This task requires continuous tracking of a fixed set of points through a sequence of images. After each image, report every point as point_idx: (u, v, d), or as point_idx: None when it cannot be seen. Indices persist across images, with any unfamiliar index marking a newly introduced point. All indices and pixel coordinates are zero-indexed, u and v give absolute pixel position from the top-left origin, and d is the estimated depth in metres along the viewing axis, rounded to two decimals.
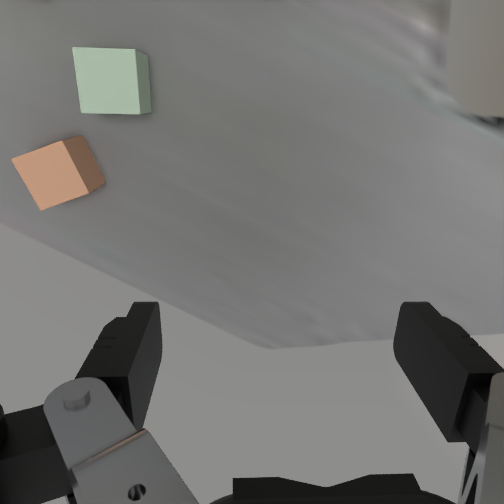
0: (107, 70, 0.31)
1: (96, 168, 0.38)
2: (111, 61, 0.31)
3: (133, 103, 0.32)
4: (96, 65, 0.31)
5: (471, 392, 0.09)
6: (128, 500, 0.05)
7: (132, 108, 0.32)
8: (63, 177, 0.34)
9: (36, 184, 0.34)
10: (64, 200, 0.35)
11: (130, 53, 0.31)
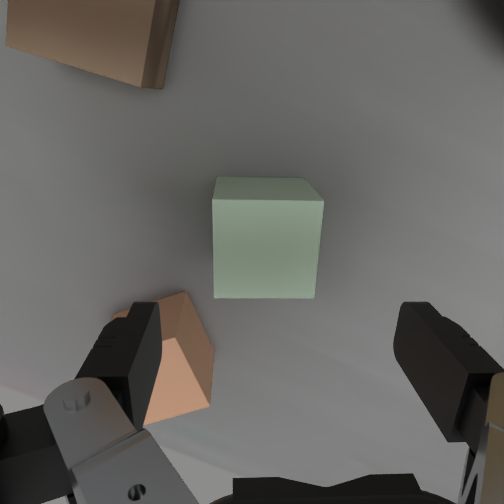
0: (269, 234, 0.17)
1: (205, 338, 0.24)
2: (278, 221, 0.17)
3: (305, 282, 0.18)
4: (250, 227, 0.17)
5: (471, 391, 0.09)
6: (129, 500, 0.05)
7: (302, 289, 0.19)
8: (171, 386, 0.21)
9: None
10: (168, 416, 0.21)
11: (315, 207, 0.17)
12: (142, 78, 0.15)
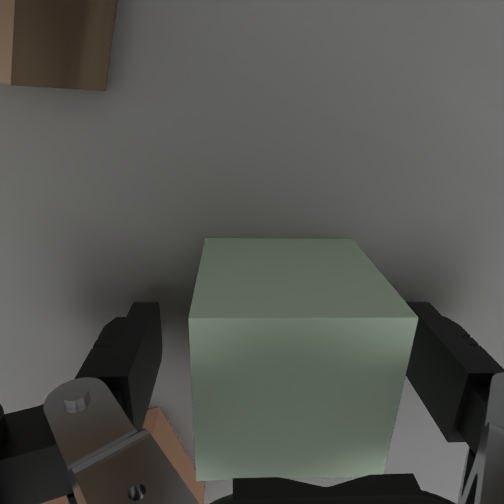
0: (304, 377, 0.09)
1: (189, 476, 0.16)
2: (324, 355, 0.08)
3: (369, 454, 0.10)
4: (267, 367, 0.09)
5: (471, 392, 0.09)
6: (129, 500, 0.05)
7: (362, 464, 0.10)
8: None
9: None
10: None
11: (398, 330, 0.08)
12: (12, 65, 0.06)
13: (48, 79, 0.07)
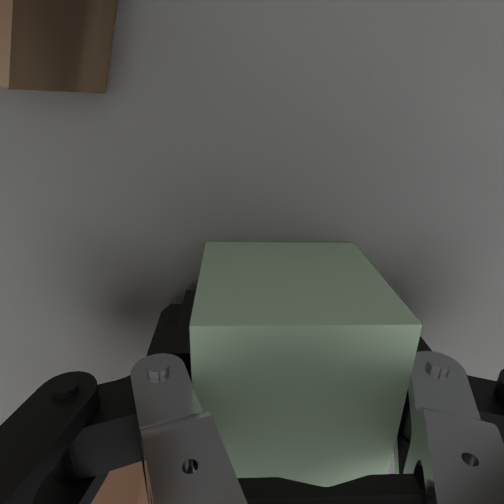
0: (307, 385, 0.09)
1: None
2: (326, 363, 0.08)
3: (372, 462, 0.10)
4: (268, 374, 0.08)
5: None
6: (182, 472, 0.06)
7: (365, 472, 0.10)
8: None
9: None
10: None
11: (402, 337, 0.08)
12: (10, 68, 0.06)
13: (47, 82, 0.07)
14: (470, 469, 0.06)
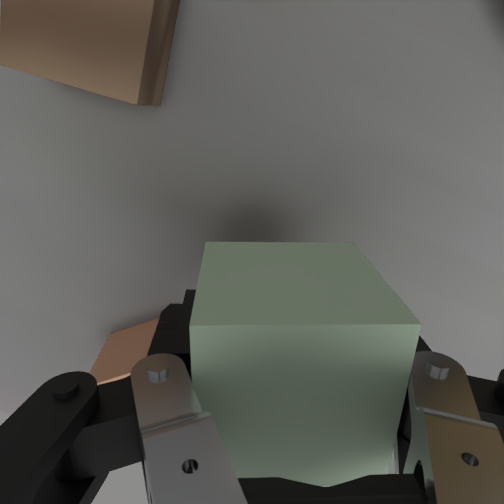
0: (306, 385, 0.09)
1: None
2: (326, 362, 0.08)
3: (371, 461, 0.10)
4: (268, 374, 0.08)
5: None
6: (182, 472, 0.06)
7: (364, 471, 0.10)
8: None
9: None
10: None
11: (401, 336, 0.08)
12: (138, 96, 0.14)
13: (145, 101, 0.15)
14: (470, 469, 0.06)
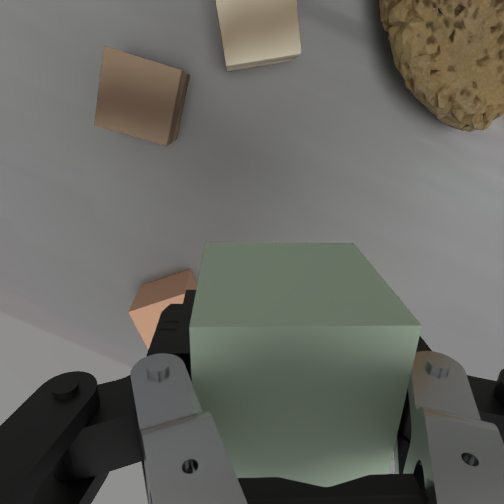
0: (306, 386, 0.09)
1: None
2: (326, 363, 0.08)
3: (372, 463, 0.10)
4: (268, 375, 0.08)
5: None
6: (182, 471, 0.06)
7: (365, 473, 0.10)
8: None
9: (152, 334, 0.32)
10: None
11: (402, 338, 0.08)
12: (167, 141, 0.26)
13: (169, 141, 0.28)
14: (471, 469, 0.06)
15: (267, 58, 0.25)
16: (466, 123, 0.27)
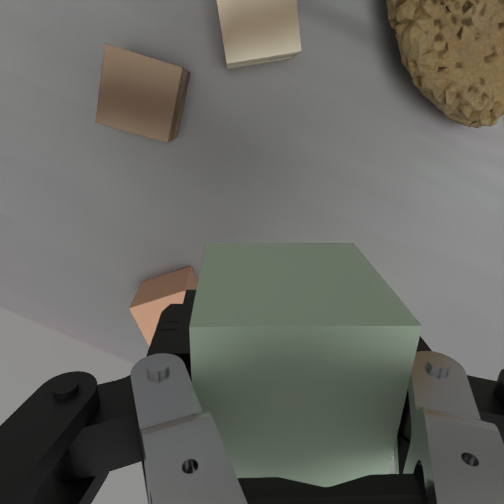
0: (306, 386, 0.09)
1: None
2: (326, 364, 0.08)
3: (372, 463, 0.10)
4: (268, 375, 0.08)
5: None
6: (182, 472, 0.06)
7: (365, 472, 0.10)
8: None
9: (152, 331, 0.32)
10: None
11: (402, 338, 0.08)
12: (168, 138, 0.26)
13: (170, 139, 0.28)
14: (470, 470, 0.06)
15: (267, 56, 0.25)
16: (473, 120, 0.27)
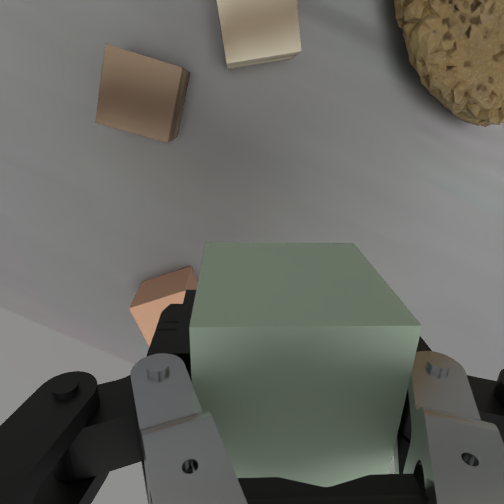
0: (306, 386, 0.09)
1: None
2: (326, 364, 0.08)
3: (372, 463, 0.10)
4: (268, 375, 0.08)
5: None
6: (182, 472, 0.06)
7: (365, 472, 0.10)
8: None
9: (152, 331, 0.32)
10: None
11: (402, 338, 0.08)
12: (168, 138, 0.26)
13: (170, 139, 0.28)
14: (470, 470, 0.06)
15: (267, 56, 0.25)
16: (481, 118, 0.27)
